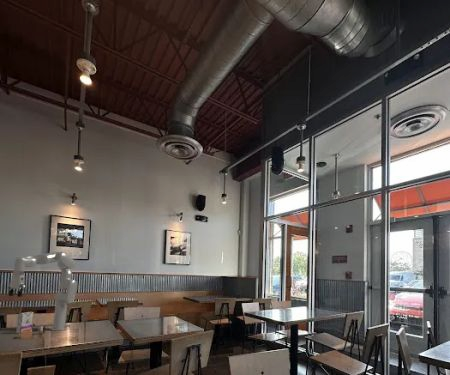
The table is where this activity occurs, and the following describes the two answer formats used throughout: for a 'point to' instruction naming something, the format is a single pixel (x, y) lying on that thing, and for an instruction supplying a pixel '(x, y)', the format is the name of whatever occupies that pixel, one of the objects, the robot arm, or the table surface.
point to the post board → (36, 334)
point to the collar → (26, 334)
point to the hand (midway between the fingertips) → (15, 296)
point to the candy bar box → (24, 321)
